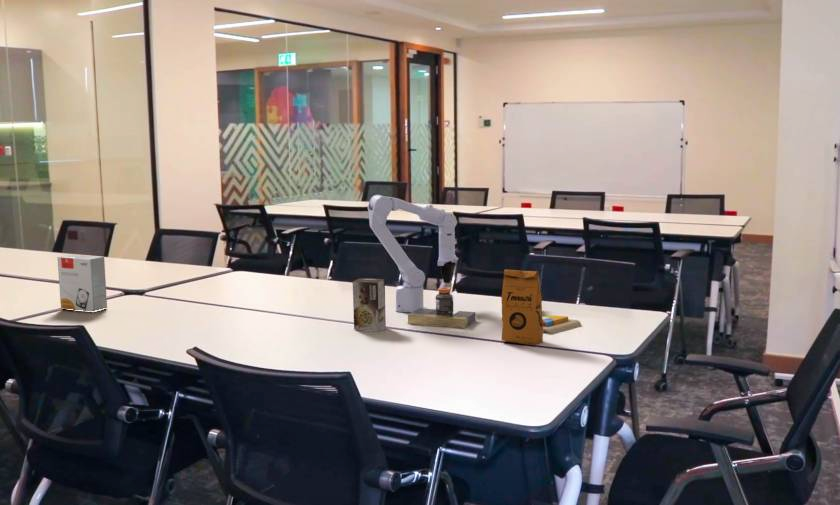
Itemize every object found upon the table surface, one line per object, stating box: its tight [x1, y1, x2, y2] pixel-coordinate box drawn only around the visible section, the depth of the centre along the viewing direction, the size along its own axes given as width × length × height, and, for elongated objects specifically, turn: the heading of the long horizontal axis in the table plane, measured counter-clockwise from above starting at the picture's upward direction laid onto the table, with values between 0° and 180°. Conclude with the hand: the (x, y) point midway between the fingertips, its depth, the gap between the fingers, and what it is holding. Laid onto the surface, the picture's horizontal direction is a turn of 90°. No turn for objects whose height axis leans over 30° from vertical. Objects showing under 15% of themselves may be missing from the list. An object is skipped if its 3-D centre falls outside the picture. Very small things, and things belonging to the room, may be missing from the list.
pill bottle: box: [435, 286, 454, 316], centre depth 271 cm, size 6×6×11 cm
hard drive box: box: [57, 254, 108, 311], centre depth 294 cm, size 16×8×20 cm, turn 68°
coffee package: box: [501, 269, 544, 346], centre depth 241 cm, size 10×12×22 cm
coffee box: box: [351, 278, 387, 332], centre depth 260 cm, size 9×6×16 cm
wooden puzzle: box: [542, 313, 582, 335], centre depth 264 cm, size 18×19×4 cm
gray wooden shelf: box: [407, 308, 476, 329], centre depth 270 cm, size 20×11×3 cm, turn 69°
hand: (447, 282), depth 292 cm, fingers closed
